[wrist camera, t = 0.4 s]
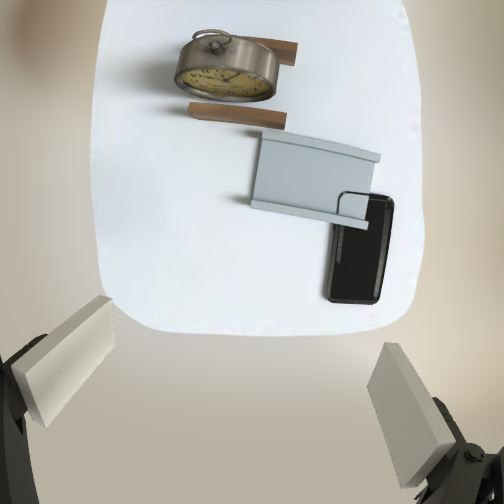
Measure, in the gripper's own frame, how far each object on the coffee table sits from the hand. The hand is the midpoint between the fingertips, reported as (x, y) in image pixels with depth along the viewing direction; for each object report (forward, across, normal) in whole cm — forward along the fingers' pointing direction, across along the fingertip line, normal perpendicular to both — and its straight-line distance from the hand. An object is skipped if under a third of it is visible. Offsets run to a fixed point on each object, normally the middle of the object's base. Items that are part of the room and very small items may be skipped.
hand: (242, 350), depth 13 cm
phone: (+27, +13, 0) cm, 30 cm away
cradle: (+26, +5, +8) cm, 28 cm away
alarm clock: (+27, -6, +19) cm, 33 cm away
